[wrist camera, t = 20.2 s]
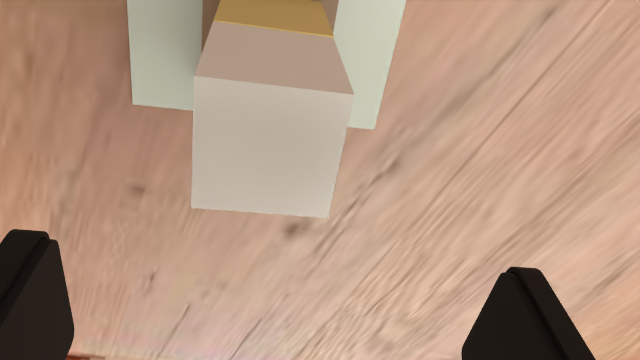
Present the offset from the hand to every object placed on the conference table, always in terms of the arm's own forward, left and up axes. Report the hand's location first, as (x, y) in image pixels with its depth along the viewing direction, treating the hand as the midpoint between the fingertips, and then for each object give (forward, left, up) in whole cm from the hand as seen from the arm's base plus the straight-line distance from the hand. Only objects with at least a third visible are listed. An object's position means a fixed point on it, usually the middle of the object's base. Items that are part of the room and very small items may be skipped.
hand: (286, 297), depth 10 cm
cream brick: (0, 0, -13) cm, 13 cm away
